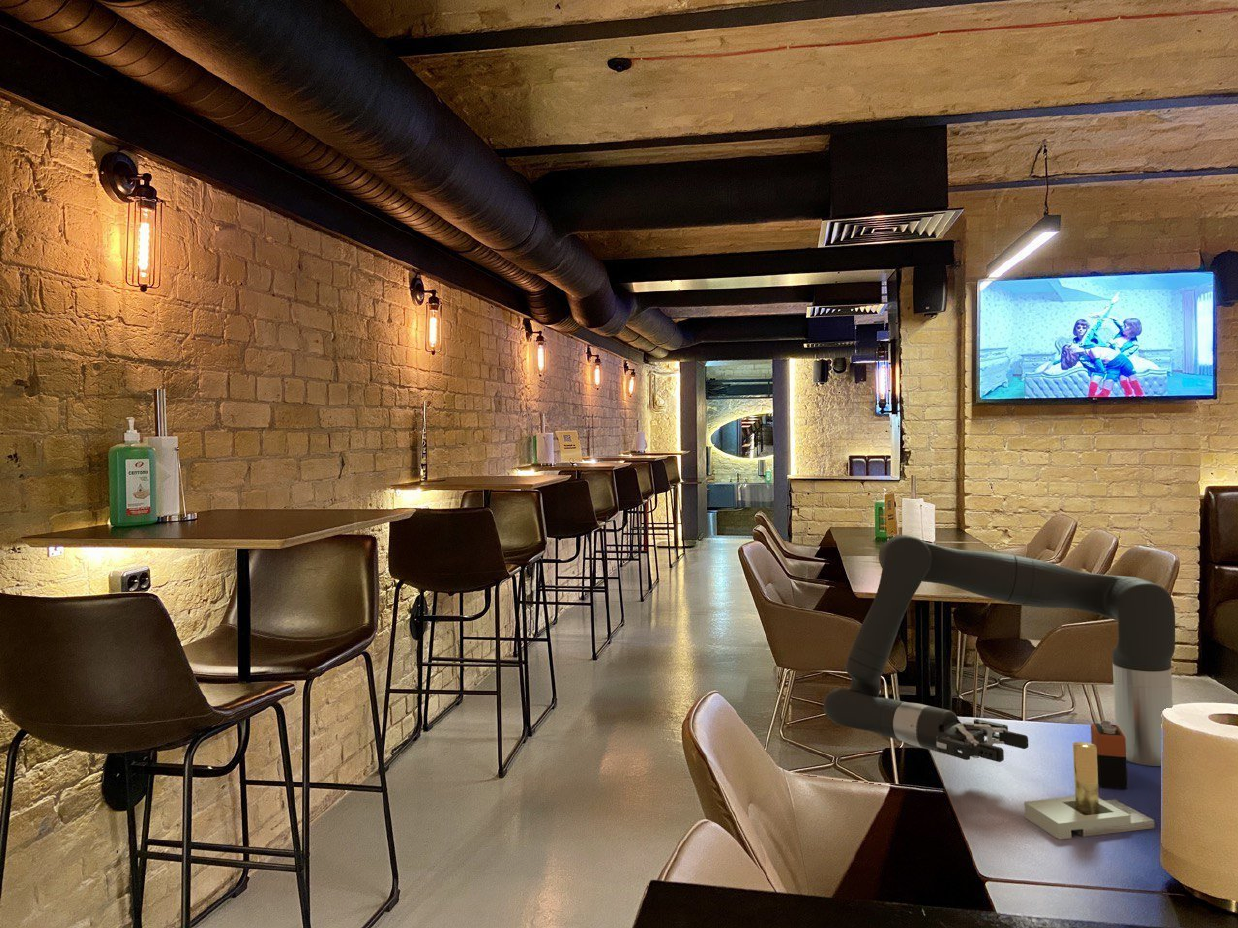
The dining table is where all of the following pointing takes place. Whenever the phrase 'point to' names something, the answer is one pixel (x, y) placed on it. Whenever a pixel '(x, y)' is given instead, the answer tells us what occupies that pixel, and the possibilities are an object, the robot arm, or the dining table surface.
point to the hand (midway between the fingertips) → (1015, 748)
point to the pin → (1086, 778)
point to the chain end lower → (1136, 823)
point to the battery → (1110, 755)
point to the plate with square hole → (1071, 816)
